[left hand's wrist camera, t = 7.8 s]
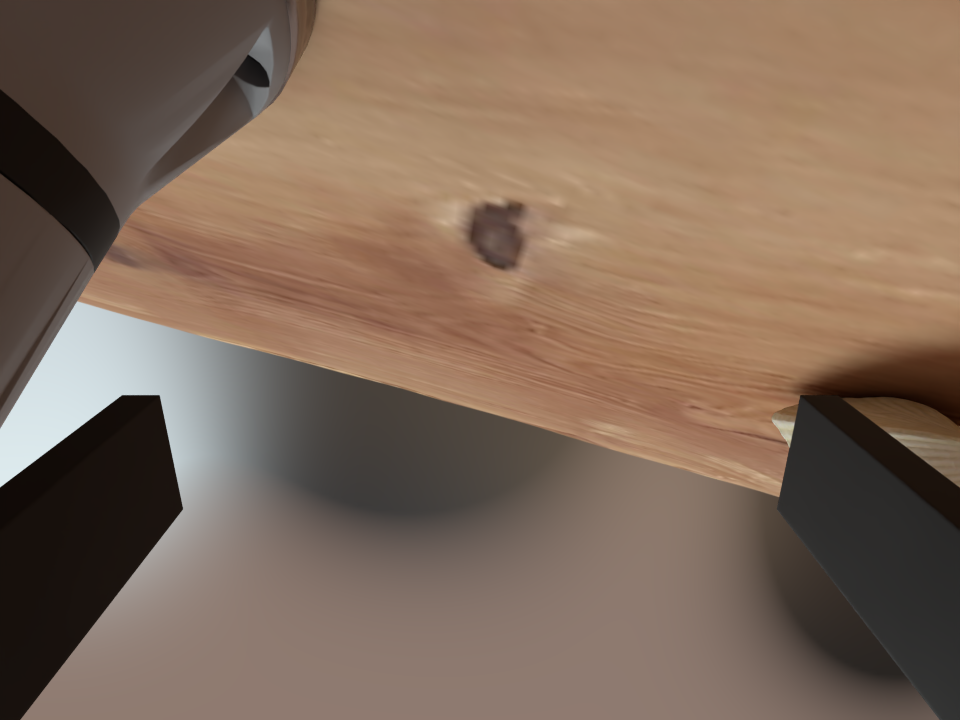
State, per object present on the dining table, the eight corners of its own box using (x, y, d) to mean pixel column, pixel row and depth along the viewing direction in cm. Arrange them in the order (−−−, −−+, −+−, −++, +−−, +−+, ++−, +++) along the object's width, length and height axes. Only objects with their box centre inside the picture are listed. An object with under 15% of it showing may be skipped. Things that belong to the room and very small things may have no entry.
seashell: (1058, 494, 28) (883, 558, 32) (934, 340, 31) (793, 417, 36) (1050, 509, 22) (838, 585, 26) (900, 320, 26) (736, 414, 30)
